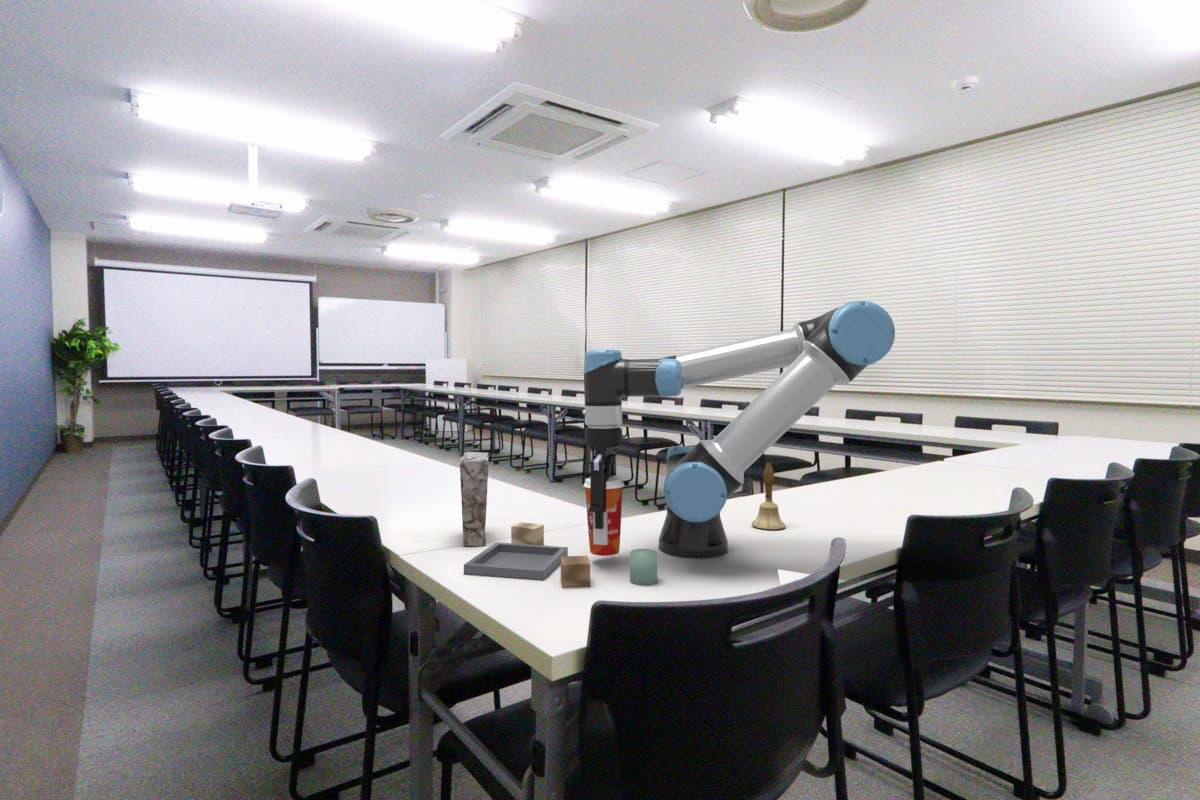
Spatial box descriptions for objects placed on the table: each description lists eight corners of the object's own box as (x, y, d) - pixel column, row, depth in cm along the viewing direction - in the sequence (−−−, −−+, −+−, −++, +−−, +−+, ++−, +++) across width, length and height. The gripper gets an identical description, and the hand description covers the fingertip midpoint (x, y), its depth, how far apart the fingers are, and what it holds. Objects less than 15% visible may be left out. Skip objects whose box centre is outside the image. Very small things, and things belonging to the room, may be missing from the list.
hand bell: (779, 531, 155) (780, 466, 154) (747, 526, 159) (747, 464, 158) (789, 524, 161) (790, 462, 161) (758, 520, 166) (758, 460, 165)
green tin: (658, 581, 118) (659, 549, 118) (655, 590, 113) (655, 557, 113) (632, 579, 119) (632, 547, 119) (627, 588, 114) (627, 555, 114)
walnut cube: (587, 582, 118) (587, 555, 117) (590, 591, 113) (590, 563, 112) (560, 583, 117) (560, 556, 117) (562, 592, 112) (562, 564, 112)
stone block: (492, 546, 141) (492, 457, 140) (460, 548, 139) (460, 458, 138) (487, 531, 154) (487, 450, 153) (458, 533, 152) (457, 451, 151)
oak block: (543, 546, 141) (543, 524, 141) (535, 551, 137) (535, 529, 137) (520, 543, 143) (520, 522, 143) (511, 548, 139) (511, 526, 139)
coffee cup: (577, 555, 126) (576, 480, 125) (593, 544, 133) (592, 474, 133) (617, 559, 123) (616, 482, 122) (631, 548, 130) (630, 476, 129)
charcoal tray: (567, 558, 132) (567, 547, 132) (543, 583, 116) (543, 571, 116) (496, 553, 135) (496, 542, 135) (463, 577, 120) (463, 564, 120)
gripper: (596, 422, 137) (598, 526, 138) (572, 431, 118) (573, 551, 119) (630, 422, 136) (631, 527, 137) (611, 431, 116) (612, 554, 117)
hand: (604, 538), depth 128 cm, fingers closed on coffee cup, 7 cm apart
